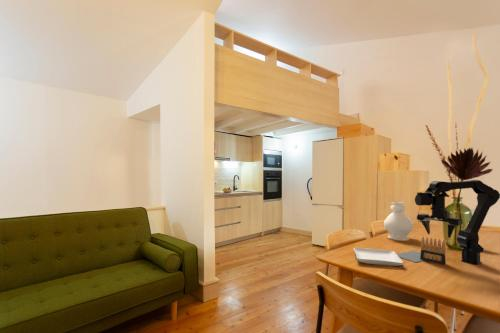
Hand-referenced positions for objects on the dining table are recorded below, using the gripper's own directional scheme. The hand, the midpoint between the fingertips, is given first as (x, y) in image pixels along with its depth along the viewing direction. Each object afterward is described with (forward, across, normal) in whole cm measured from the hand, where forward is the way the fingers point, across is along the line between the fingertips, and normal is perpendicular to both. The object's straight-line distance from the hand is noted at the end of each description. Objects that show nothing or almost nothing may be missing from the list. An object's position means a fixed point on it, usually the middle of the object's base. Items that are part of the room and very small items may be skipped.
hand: (438, 235), depth 137 cm
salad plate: (+14, +20, +24) cm, 34 cm away
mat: (+13, +11, +2) cm, 17 cm away
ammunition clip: (+13, +2, +3) cm, 14 cm away
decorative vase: (+14, +37, -31) cm, 50 cm away
